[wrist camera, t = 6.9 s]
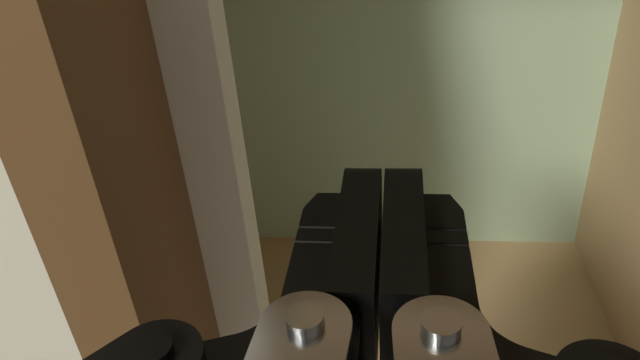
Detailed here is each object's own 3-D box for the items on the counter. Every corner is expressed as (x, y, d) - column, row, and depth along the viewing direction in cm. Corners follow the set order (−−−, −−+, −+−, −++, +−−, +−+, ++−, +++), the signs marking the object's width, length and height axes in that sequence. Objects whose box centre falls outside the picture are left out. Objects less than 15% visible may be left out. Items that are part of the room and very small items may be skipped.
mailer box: (52, -246, 17) (-159, -287, 11) (716, -315, 15) (966, -423, 8) (174, 242, 26) (101, 377, 20) (590, 250, 24) (660, 407, 17)
